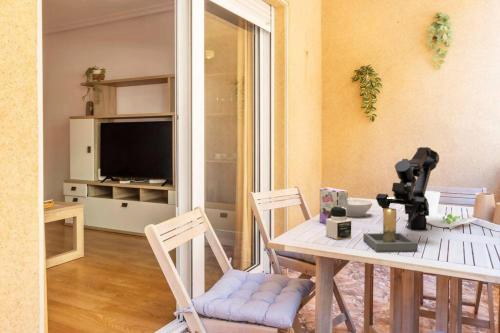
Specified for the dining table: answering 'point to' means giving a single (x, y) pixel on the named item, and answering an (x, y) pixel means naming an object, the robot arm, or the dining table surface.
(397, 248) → the tray
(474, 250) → the dining table surface
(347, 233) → the medicine bottle
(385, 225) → the golden metal cylinder
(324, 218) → the candy box
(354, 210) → the bowl
